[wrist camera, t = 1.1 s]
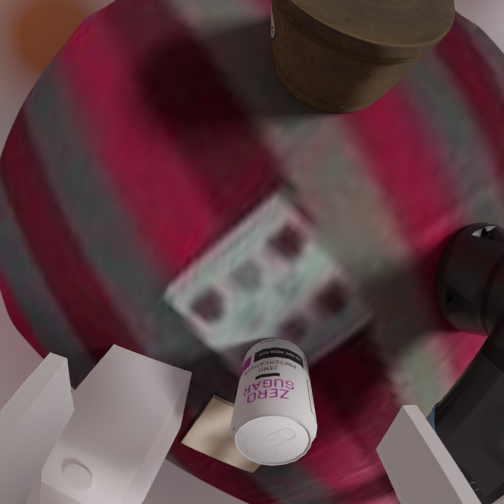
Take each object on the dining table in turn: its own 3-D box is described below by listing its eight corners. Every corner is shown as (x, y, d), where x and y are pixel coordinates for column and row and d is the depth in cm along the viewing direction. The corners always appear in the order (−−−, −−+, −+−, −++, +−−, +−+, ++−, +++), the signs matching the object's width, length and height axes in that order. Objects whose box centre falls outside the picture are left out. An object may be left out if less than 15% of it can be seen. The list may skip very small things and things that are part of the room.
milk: (111, 401, 43) (29, 512, 18) (114, 344, 41) (1, 459, 15) (180, 427, 43) (125, 562, 17) (192, 372, 41) (121, 527, 15)
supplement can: (270, 397, 40) (266, 478, 26) (230, 358, 40) (209, 434, 25) (318, 367, 39) (335, 445, 24) (280, 323, 38) (281, 395, 24)
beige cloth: (292, 429, 41) (292, 432, 41) (252, 469, 44) (252, 473, 43) (214, 394, 41) (213, 397, 40) (182, 439, 43) (181, 442, 42)
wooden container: (328, -4, 30) (358, -120, 8) (411, 71, 31) (507, -9, 10) (246, 54, 33) (215, -70, 11) (334, 138, 34) (410, 70, 12)
